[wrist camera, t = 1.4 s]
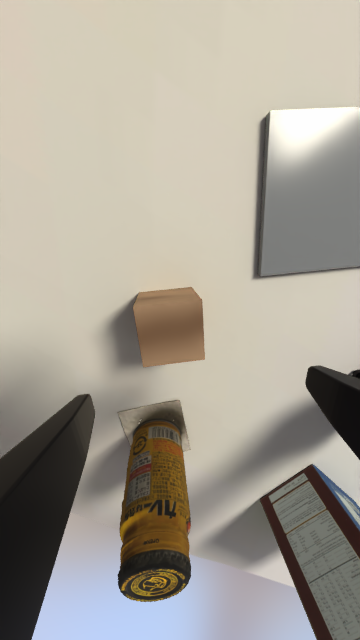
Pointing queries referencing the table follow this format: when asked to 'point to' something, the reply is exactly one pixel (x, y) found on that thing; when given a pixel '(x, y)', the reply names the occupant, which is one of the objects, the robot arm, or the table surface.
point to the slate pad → (310, 191)
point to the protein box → (320, 550)
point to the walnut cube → (169, 326)
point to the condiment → (155, 504)
